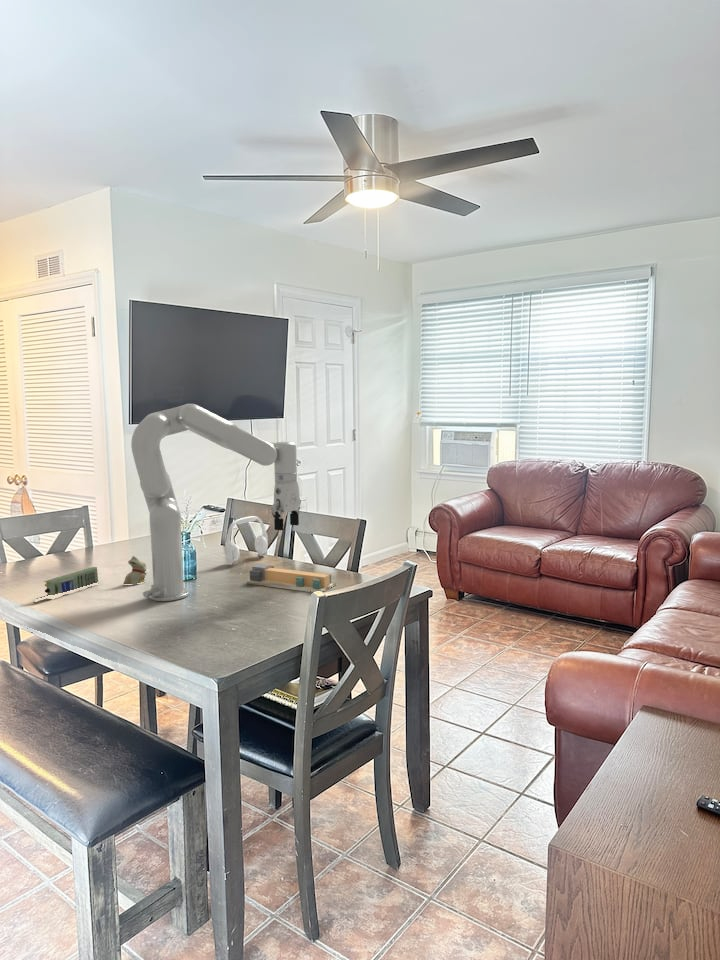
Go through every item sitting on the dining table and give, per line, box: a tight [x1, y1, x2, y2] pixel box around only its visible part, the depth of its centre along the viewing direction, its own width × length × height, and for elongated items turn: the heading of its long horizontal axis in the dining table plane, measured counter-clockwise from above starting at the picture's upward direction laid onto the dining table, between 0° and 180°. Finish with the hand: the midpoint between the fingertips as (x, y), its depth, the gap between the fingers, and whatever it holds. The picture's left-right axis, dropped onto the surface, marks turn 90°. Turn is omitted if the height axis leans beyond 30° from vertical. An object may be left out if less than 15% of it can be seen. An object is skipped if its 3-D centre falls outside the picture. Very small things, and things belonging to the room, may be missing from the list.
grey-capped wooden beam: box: [251, 563, 330, 588], centre depth 228 cm, size 4×29×4 cm, turn 64°
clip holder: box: [246, 565, 337, 593], centre depth 229 cm, size 10×30×4 cm, turn 64°
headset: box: [224, 515, 269, 566], centre depth 263 cm, size 20×7×18 cm, turn 141°
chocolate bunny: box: [123, 555, 147, 584], centre depth 233 cm, size 6×8×10 cm
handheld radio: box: [36, 566, 99, 599], centre depth 221 cm, size 7×3×25 cm
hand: (286, 527), depth 227 cm, fingers open, 9 cm apart
